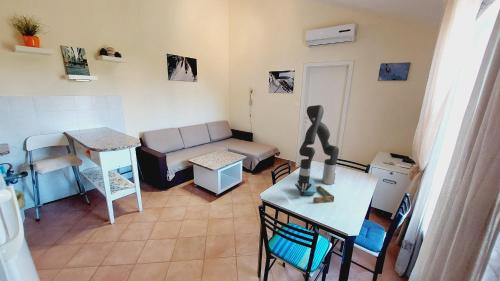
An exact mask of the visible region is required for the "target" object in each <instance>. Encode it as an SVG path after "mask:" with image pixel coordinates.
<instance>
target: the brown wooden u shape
mask: <svg viewBox="0 0 500 281" xmlns="http://www.w3.org/2000/svg"><path fill="white" fill-rule="evenodd" d="M315 187H316V192H320V193H321V194H322V195H324V196H317V197H316V196H315V197H313V198H312V199H313V200H312V203H313V204H322V203H334V201H335V196H334V195H333V194H331V193H330V192H329V191H328V190H326V189H325V188H324V187H323V186H321V185H315Z"/></svg>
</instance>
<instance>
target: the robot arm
mask: <svg viewBox="0 0 500 281" xmlns="http://www.w3.org/2000/svg"><path fill="white" fill-rule="evenodd" d="M324 110H325V109H324V107H323V106H322V105H321V104H317V105H309V106H308V107H307V108H306V115H307V118H308V119H309V120H310V123H311V125H310V126H309V127H308V128H307V130H306V132H305V135H304V140H303V142H302V144H301V147H300V148H299V151H298V152H299V155H300V156H301V157H306V158H302V159H301V160H300V167H299V172H298V180H299V181H297V183H295V184H294V186H295V187H296V189H297V190H298V191H300V192H299V195H300V196H301V197H305V195H306V194H305V191H307V190H308V189H309V188H310V187H311V186H312V184H310V183H309V179H311V164H312V161H313V158H314V156H315V154H316V149H315V148H314V147H310V146H311V145H314V144H315V141H316V136H317V137H318V140H319V141H320V144H321V148H322V150H323V153H324V154H325V155H326V156H329V158H327V159H324V163H323V170H322V171H323V172H322V178H321V179H322V180H321V182H322V183H323V184H325V185H333V184H335V180H336V172H335V171H336V166H337V162H338V158H339V153H340V148H339V146H336V145H332V144H330V142H329V139H330V137H331V133H330V130H329V127H328V126H327V125H326V124H324V123H323V122H322V119H323V116H324ZM299 185H300V188H299Z"/></svg>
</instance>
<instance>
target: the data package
mask: <svg viewBox="0 0 500 281" xmlns="http://www.w3.org/2000/svg"><path fill="white" fill-rule="evenodd" d="M298 181H299V179H298ZM298 181H297V182H298ZM309 183H310V184H312V186H311V187H310V188H309V189H308V190H307V191H305V194H304V195H308V196H314V195H315V194H316V193H317V191H316V187H315V186H316V184H315V180H314V179H313V178H310V179H309ZM299 188H300V185H299ZM298 191H299V190H298ZM298 193H300V191H299V192H298Z"/></svg>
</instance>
